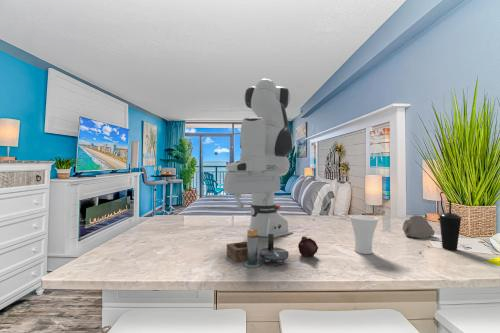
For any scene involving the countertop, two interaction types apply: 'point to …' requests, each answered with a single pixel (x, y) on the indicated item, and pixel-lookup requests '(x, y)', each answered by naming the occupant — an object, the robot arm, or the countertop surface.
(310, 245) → the maroon cone figure
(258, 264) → the coaster
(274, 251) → the handwheel
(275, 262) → the wheel post
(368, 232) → the cup
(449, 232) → the drinking cup
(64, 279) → the countertop surface
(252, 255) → the orange topped grey cylinder
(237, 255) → the block
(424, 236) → the pumice stone
